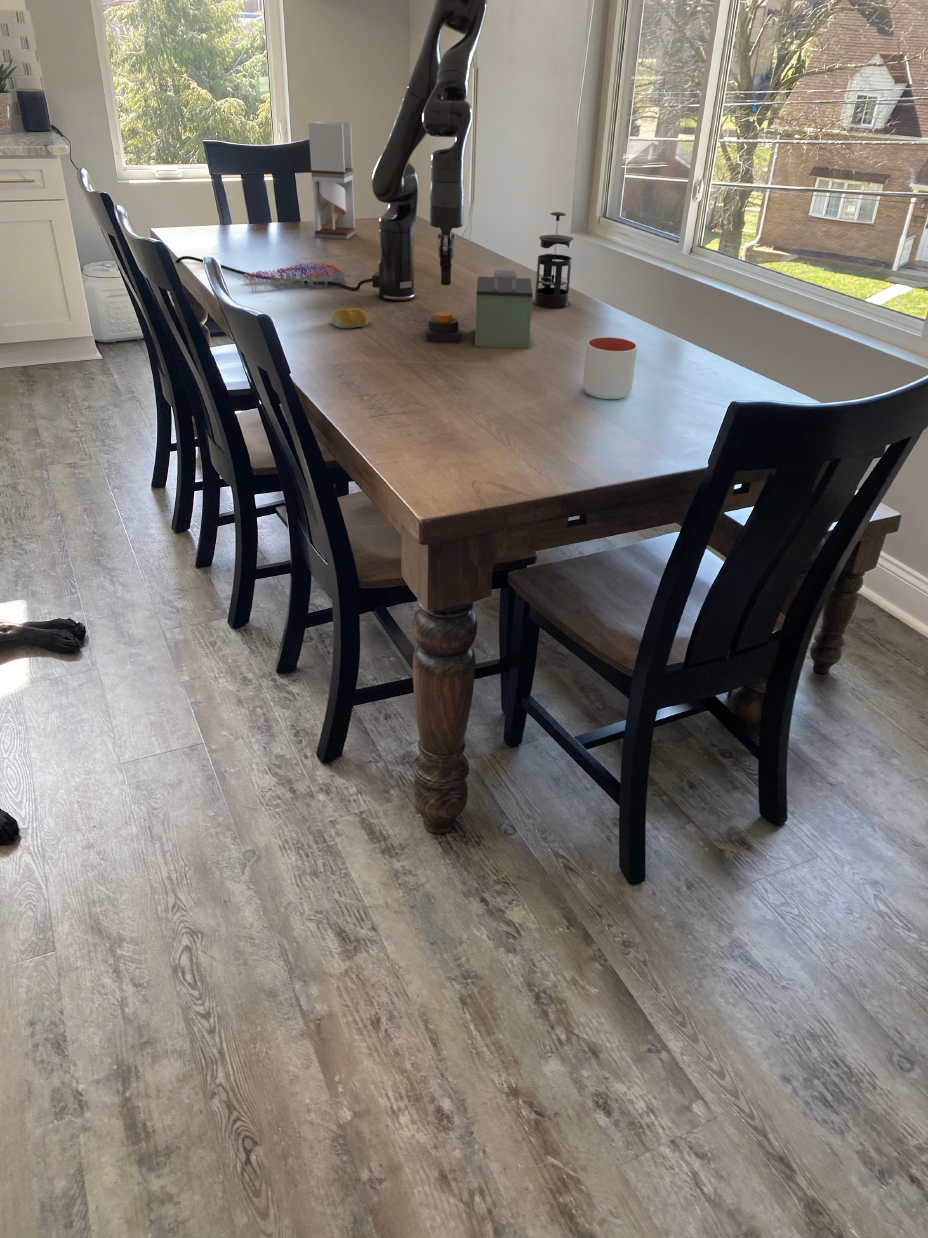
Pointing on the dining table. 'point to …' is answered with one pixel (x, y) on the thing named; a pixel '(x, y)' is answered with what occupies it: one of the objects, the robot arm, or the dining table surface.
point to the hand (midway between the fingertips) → (445, 284)
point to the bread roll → (349, 318)
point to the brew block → (443, 331)
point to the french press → (555, 295)
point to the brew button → (443, 317)
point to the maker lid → (504, 285)
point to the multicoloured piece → (288, 278)
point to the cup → (609, 367)
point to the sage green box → (503, 321)
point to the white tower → (332, 178)
